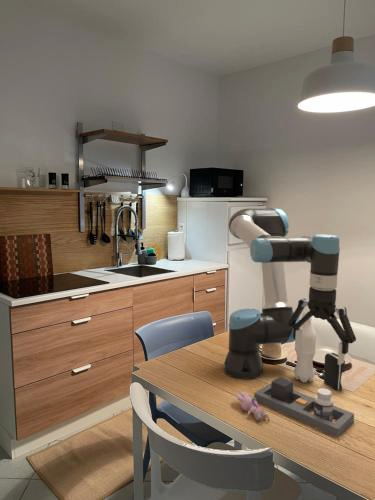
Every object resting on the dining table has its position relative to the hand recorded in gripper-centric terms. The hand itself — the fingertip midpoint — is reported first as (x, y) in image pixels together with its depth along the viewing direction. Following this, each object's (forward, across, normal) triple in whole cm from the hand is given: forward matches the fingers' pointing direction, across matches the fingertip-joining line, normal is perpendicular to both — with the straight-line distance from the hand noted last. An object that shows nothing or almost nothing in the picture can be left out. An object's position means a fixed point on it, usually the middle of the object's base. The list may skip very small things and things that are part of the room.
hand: (318, 356), depth 115 cm
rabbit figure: (+19, -14, -14) cm, 27 cm away
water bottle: (+19, -14, +18) cm, 30 cm away
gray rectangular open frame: (+18, -4, -2) cm, 19 cm away
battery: (+19, -4, +21) cm, 29 cm away
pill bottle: (+19, +3, -2) cm, 19 cm away
